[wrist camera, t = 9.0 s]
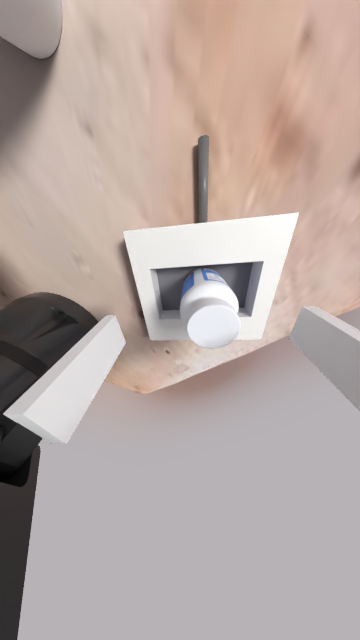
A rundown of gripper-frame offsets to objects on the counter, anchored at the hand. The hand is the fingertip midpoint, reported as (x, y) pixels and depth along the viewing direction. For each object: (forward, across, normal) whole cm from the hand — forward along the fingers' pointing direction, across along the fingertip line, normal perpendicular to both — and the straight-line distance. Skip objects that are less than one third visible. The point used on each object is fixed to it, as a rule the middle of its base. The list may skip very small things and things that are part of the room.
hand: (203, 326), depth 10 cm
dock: (+10, +1, +3) cm, 10 cm away
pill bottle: (+10, +1, 0) cm, 10 cm away
